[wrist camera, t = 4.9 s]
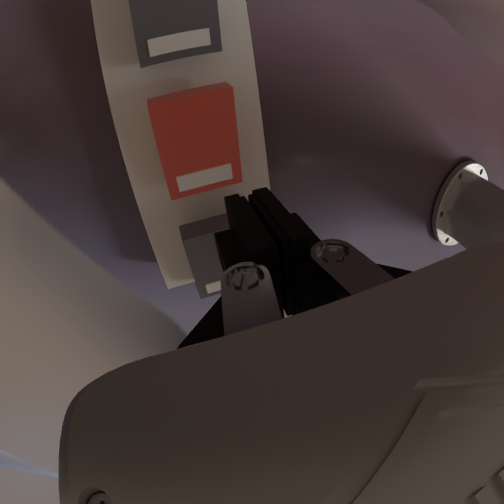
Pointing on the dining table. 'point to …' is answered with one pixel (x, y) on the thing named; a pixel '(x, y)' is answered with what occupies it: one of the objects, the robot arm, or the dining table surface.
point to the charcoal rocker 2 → (204, 252)
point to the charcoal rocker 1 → (174, 29)
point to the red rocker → (197, 138)
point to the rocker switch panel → (141, 133)
